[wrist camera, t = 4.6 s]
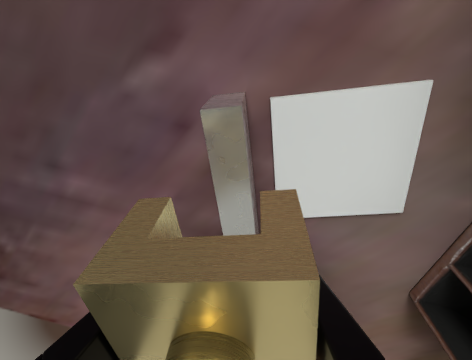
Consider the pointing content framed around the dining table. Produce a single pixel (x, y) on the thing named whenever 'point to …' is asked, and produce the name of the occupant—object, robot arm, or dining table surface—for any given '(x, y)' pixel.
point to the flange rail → (231, 162)
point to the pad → (349, 147)
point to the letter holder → (449, 298)
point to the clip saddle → (206, 287)
